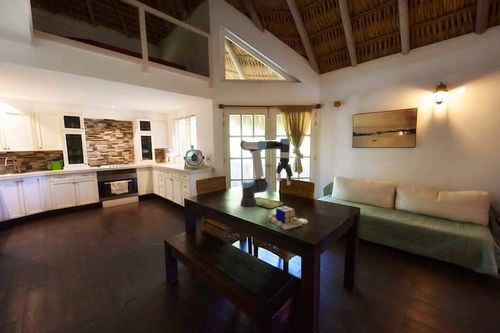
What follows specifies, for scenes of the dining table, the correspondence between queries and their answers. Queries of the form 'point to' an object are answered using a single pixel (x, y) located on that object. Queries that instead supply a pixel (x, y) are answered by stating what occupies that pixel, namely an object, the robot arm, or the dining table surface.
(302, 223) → the white round disc
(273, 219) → the light wood tray
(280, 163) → the robot arm
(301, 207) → the dining table surface
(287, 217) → the puzzle cube
